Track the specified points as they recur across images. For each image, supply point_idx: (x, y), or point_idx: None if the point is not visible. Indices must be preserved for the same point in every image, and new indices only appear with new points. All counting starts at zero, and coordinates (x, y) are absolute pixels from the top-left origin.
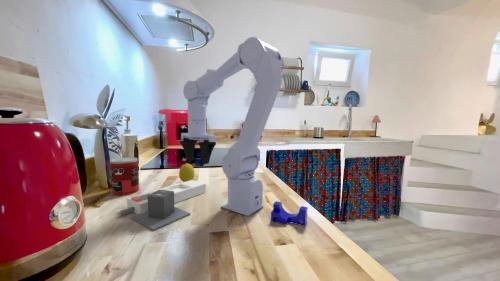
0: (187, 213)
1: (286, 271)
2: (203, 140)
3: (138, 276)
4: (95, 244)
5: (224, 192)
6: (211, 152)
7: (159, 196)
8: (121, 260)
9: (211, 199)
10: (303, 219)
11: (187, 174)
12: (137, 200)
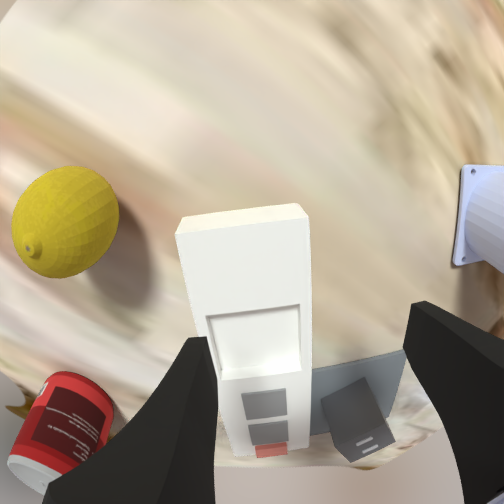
0: (402, 356)
1: None
2: (498, 502)
3: (443, 426)
4: (342, 461)
5: (370, 137)
6: (502, 343)
7: (381, 447)
8: (406, 440)
9: (385, 240)
10: None
11: (109, 243)
12: (286, 451)
